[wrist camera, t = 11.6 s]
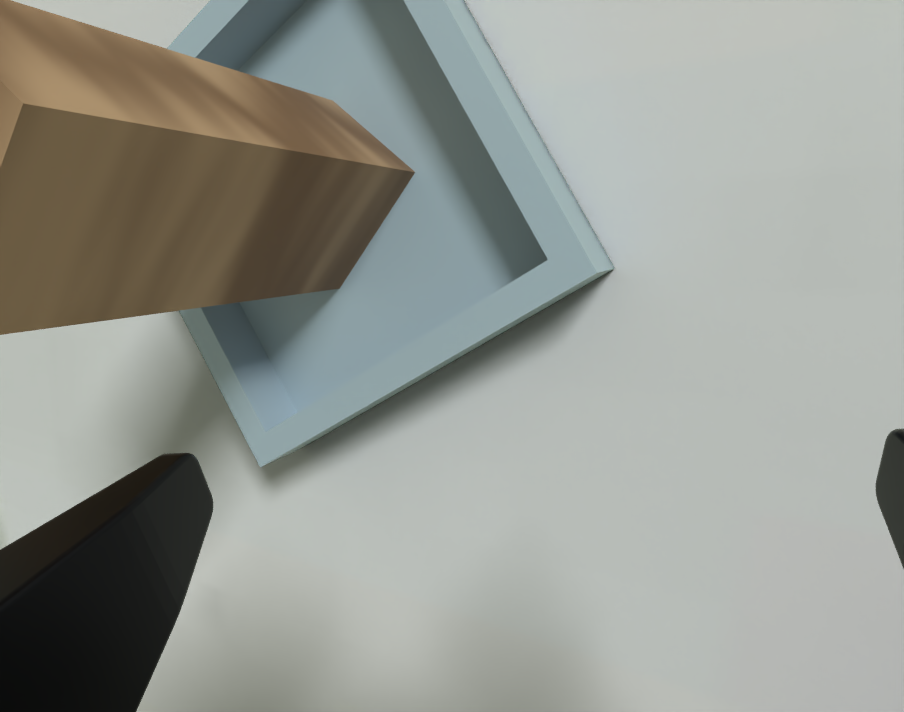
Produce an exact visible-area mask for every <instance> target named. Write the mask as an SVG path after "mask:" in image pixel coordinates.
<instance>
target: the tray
mask: <svg viewBox="0 0 904 712" xmlns="http://www.w3.org/2000/svg"><path fill="white" fill-rule="evenodd" d="M167 49H169V50H172V51H175V52H178V53H182V54H185V55H188V56H191V57H194V58H198V59H201V60H204V61H207V62H211V63H214V64H217V65H220V66H223V67H227V68H230V69H233V70H236V71H239V72H243V73H246V74H249V75H252V76H256V77H259V78H262V79H265V80H268V81H272V82H275V83H278V84H281V85H285V86H288V87H291V88H294V89H297V90H301V91H304V92H307V93H310V94H314V95H317V96H320V97H323V98H326V99H330V100H333V101H334V102H335V103H336V104H337V105H339V106H340V107H341V108H342V109H343V110H344V111H345V112H347V113H348V114H349V115H350V116H351V117H352V118H354V119H355V120H356V121H357V122H358V123H359V124H360V125H362V126H363V127H364V128H365V129H366V130H367V131H369V132H370V133H371V134H372V135H373V136H374V137H375V138H377V139H378V140H379V141H380V142H381V143H382V144H383V145H385V146H386V147H387V148H388V149H389V150H390V151H392V152H393V153H394V154H395V155H396V156H397V157H398V158H400V159H401V160H402V161H403V162H404V163H405V164H407V165H408V166H409V167H410V168H411V169H412V170H413V171H415V174H414V175H413V177H412V178H411V180H410V181H409V183H408V184H407V186H406V187H405V189H404V191H403V192H402V194H401V195H400V197H399V198H398V200H397V201H396V203H395V204H394V206H393V207H392V209H391V211H390V212H389V214H388V215H387V217H386V218H385V220H384V221H383V223H382V224H381V226H380V227H379V229H378V231H377V232H376V234H375V235H374V237H373V238H372V240H371V241H370V243H369V244H368V246H367V247H366V249H365V251H364V252H363V254H362V255H361V257H360V258H359V260H358V261H357V263H356V264H355V266H354V267H353V269H352V271H351V272H350V274H349V275H348V277H347V278H346V280H345V281H344V283H343V284H342V286H341V287H340V289H334V290H326V291H319V292H312V293H304V294H297V295H290V296H282V297H275V298H267V299H260V300H253V301H245V302H238V303H231V304H223V305H216V306H208V307H201V308H194V309H186V310H179V312H180V314H181V316H182V318H183V320H184V322H185V323H186V325H187V327H188V329H189V331H190V333H191V335H192V337H193V339H194V341H195V343H196V345H197V347H198V348H199V350H200V352H201V354H202V356H203V358H204V360H205V362H206V364H207V366H208V368H209V370H210V372H211V374H212V375H213V377H214V379H215V381H216V383H217V385H218V387H219V389H220V391H221V393H222V395H223V397H224V399H225V400H226V402H227V404H228V406H229V408H230V410H231V412H232V414H233V416H234V418H235V420H236V422H237V424H238V426H239V427H240V429H241V431H242V433H243V435H244V437H245V439H246V441H247V443H248V445H249V447H250V449H251V451H252V452H253V454H254V456H255V458H256V460H257V462H258V464H259V466H260V467H262V466H264V465H267V464H269V463H271V462H273V461H275V460H277V459H279V458H281V457H283V456H286V455H288V454H290V453H292V452H294V451H296V450H298V449H300V448H302V447H304V446H306V445H308V444H309V443H311V442H313V441H315V440H316V439H318V438H320V437H322V436H323V435H325V434H327V433H329V432H330V431H332V430H334V429H336V428H337V427H339V426H341V425H343V424H344V423H346V422H348V421H350V420H351V419H353V418H355V417H357V416H358V415H360V414H362V413H363V412H365V411H367V410H369V409H370V408H372V407H374V406H376V405H377V404H379V403H381V402H383V401H384V400H386V399H388V398H390V397H391V396H393V395H395V394H397V393H398V392H400V391H402V390H404V389H405V388H407V387H409V386H411V385H412V384H414V383H416V382H418V381H419V380H421V379H423V378H425V377H426V376H428V375H430V374H431V373H433V372H435V371H437V370H438V369H440V368H442V367H444V366H445V365H447V364H449V363H451V362H452V361H454V360H456V359H458V358H459V357H461V356H463V355H465V354H466V353H468V352H470V351H472V350H473V349H475V348H477V347H479V346H480V345H482V344H484V343H486V342H487V341H489V340H491V339H493V338H494V337H496V336H498V335H499V334H501V333H503V332H505V331H506V330H508V329H510V328H512V327H513V326H515V325H517V324H519V323H520V322H522V321H524V320H526V319H527V318H529V317H531V316H533V315H534V314H536V313H538V312H540V311H541V310H543V309H545V308H547V307H548V306H550V305H552V304H554V303H555V302H557V301H559V300H561V299H562V298H564V297H566V296H568V295H569V294H571V293H573V292H574V291H576V290H578V289H580V288H581V287H583V286H585V285H587V284H588V283H590V282H592V281H594V280H595V279H597V278H599V277H601V276H602V275H604V274H606V273H608V272H609V271H611V270H613V269H615V268H614V266H613V264H612V262H611V261H610V259H609V257H608V255H607V254H606V252H605V250H604V248H603V247H602V245H601V243H600V241H599V239H598V238H597V236H596V234H595V232H594V231H593V229H592V227H591V225H590V223H589V222H588V220H587V218H586V216H585V215H584V213H583V211H582V209H581V207H580V206H579V204H578V202H577V200H576V199H575V197H574V195H573V193H572V191H571V190H570V188H569V186H568V184H567V183H566V181H565V179H564V177H563V175H562V174H561V172H560V170H559V168H558V167H557V165H556V163H555V161H554V159H553V158H552V156H551V154H550V152H549V151H548V149H547V147H546V145H545V143H544V142H543V140H542V138H541V136H540V135H539V133H538V131H537V129H536V127H535V126H534V124H533V122H532V120H531V119H530V117H529V115H528V113H527V111H526V110H525V108H524V106H523V104H522V103H521V101H520V99H519V97H518V95H517V94H516V92H515V90H514V88H513V87H512V85H511V83H510V81H509V80H508V78H507V76H506V74H505V72H504V71H503V69H502V67H501V65H500V64H499V62H498V60H497V58H496V56H495V55H494V53H493V51H492V49H491V48H490V46H489V44H488V42H487V40H486V39H485V37H484V35H483V33H482V32H481V30H480V28H479V26H478V24H477V23H476V21H475V19H474V17H473V16H472V14H471V12H470V10H469V8H468V7H467V5H466V3H465V1H464V0H210V1H209V2H208V3H207V5H206V6H205V7H204V8H203V9H202V10H201V11H200V12H199V13H198V15H197V16H196V17H195V18H194V19H193V20H192V21H191V22H190V23H189V25H188V26H187V27H186V28H185V29H184V30H183V31H182V32H181V33H180V35H179V36H178V37H177V38H176V39H175V40H174V41H173V42H172V43H171V45H170V46H169V47H168V48H167Z"/></svg>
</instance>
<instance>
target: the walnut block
mask: <svg viewBox="0 0 904 712" xmlns="http://www.w3.org/2000/svg"><path fill="white" fill-rule="evenodd" d="M414 174H415V171H413V170H412V169H411V168H410V167H409V166H408V165H407V164H405V163H404V162H403V161H402V160H401V159H400V158H398V157H397V156H396V155H395V154H394V153H393V152H392V151H390V150H389V149H388V148H387V147H386V146H385V145H383V144H382V143H381V142H380V141H379V140H378V139H377V138H375V137H374V136H373V135H372V134H371V133H370V132H369V131H367V130H366V129H365V128H364V127H363V126H362V125H360V124H359V123H358V122H357V121H356V120H355V119H354V118H352V117H351V116H350V115H349V114H348V113H347V112H345V111H344V110H343V109H342V108H341V107H340V106H339V105H337V104H336V103H335V102H334V101H333V100H330V99H326V98H323V97H320V96H317V95H314V94H310V93H307V92H304V91H301V90H297V89H294V88H291V87H288V86H285V85H281V84H278V83H275V82H272V81H268V80H265V79H262V78H259V77H256V76H252V75H249V74H246V73H243V72H239V71H236V70H233V69H230V68H227V67H223V66H220V65H217V64H214V63H211V62H207V61H204V60H201V59H198V58H194V57H191V56H188V55H185V54H182V53H178V52H175V51H172V50H169V49H165V48H162V47H159V46H156V45H153V44H149V43H146V42H143V41H140V40H136V39H133V38H130V37H127V36H124V35H120V34H117V33H114V32H111V31H107V30H104V29H101V28H98V27H95V26H91V25H88V24H85V23H82V22H78V21H75V20H72V19H69V18H66V17H62V16H59V15H56V14H53V13H49V12H46V11H43V10H40V9H37V8H33V7H30V6H27V5H24V4H20V3H17V2H14V1H11V0H0V335H2V334H9V333H17V332H24V331H31V330H39V329H46V328H53V327H61V326H68V325H76V324H83V323H90V322H98V321H105V320H113V319H120V318H127V317H135V316H142V315H149V314H157V313H164V312H172V311H179V310H186V309H194V308H201V307H208V306H216V305H223V304H231V303H238V302H245V301H253V300H260V299H267V298H275V297H282V296H290V295H297V294H304V293H312V292H319V291H326V290H334V289H340V287H341V286H342V284H343V283H344V281H345V280H346V278H347V277H348V275H349V274H350V272H351V271H352V269H353V267H354V266H355V264H356V263H357V261H358V260H359V258H360V257H361V255H362V254H363V252H364V251H365V249H366V247H367V246H368V244H369V243H370V241H371V240H372V238H373V237H374V235H375V234H376V232H377V231H378V229H379V227H380V226H381V224H382V223H383V221H384V220H385V218H386V217H387V215H388V214H389V212H390V211H391V209H392V207H393V206H394V204H395V203H396V201H397V200H398V198H399V197H400V195H401V194H402V192H403V191H404V189H405V187H406V186H407V184H408V183H409V181H410V180H411V178H412V177H413V175H414Z"/></svg>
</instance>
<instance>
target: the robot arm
mask: <svg viewBox="0 0 904 712" xmlns="http://www.w3.org/2000/svg"><path fill="white" fill-rule="evenodd" d="M876 496H877V501H878V504H879V506H880V509H881V512H882V514H883V517H884V519H885V522H886V524H887V527H888V530H889V532H890V535H891V537H892V540H893V543H894V545H895V548H896V550H897V553H898V555H899V558H900V561H901V563H902V566H903V568H904V429H895V430H893V431H892V432H890V433H889V435H888V436H887V439H886V441H885V445H884V450H883V454H882V458H881V463H880V467H879V471H878V476H877V480H876ZM212 512H213V499H212V495H211V492H210V490H209V487H208V485H207V482H206V480H205V477H204V475H203V472H202V470H201V467H200V465H199V462H198V460H197V458H196V457H195V456H194V455H192V454H190V453H169V454H163V455H161V456H159V457H157V458H155V459H154V460H152V461H150V462H149V463H147V464H145V465H144V466H142V467H140V468H138V469H137V470H135V471H133V472H132V473H130V474H128V475H127V476H125V477H123V478H121V479H120V480H118V481H116V482H115V483H113V484H111V485H110V486H108V487H106V488H104V489H103V490H101V491H99V492H98V493H96V494H94V495H93V496H91V497H89V498H88V499H86V500H84V501H82V502H81V503H79V504H77V505H76V506H74V507H72V508H71V509H69V510H67V511H65V512H64V513H62V514H60V515H59V516H57V517H55V518H54V519H52V520H50V521H48V522H47V523H45V524H43V525H42V526H40V527H38V528H37V529H35V530H33V531H31V532H30V533H28V534H26V535H25V536H23V537H21V538H20V539H18V540H16V541H14V542H13V543H11V544H9V545H8V546H6V547H4V548H3V549H1V550H0V712H136V711H137V709H138V706H139V704H140V702H141V700H142V697H143V695H144V693H145V691H146V688H147V686H148V684H149V682H150V679H151V677H152V675H153V672H154V670H155V668H156V666H157V663H158V661H159V659H160V657H161V654H162V652H163V650H164V648H165V645H166V643H167V641H168V639H169V636H170V634H171V632H172V630H173V627H174V625H175V622H176V620H177V617H178V615H179V613H180V610H181V607H182V604H183V602H184V599H185V596H186V593H187V590H188V587H189V584H190V581H191V578H192V575H193V572H194V569H195V566H196V563H197V559H198V556H199V553H200V550H201V547H202V544H203V541H204V538H205V535H206V532H207V529H208V526H209V523H210V519H211V516H212Z"/></svg>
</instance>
